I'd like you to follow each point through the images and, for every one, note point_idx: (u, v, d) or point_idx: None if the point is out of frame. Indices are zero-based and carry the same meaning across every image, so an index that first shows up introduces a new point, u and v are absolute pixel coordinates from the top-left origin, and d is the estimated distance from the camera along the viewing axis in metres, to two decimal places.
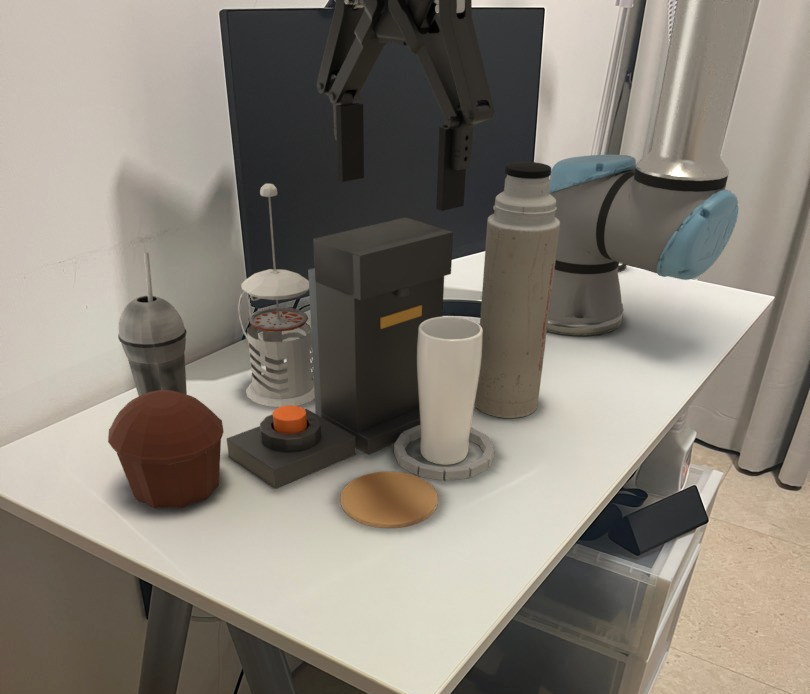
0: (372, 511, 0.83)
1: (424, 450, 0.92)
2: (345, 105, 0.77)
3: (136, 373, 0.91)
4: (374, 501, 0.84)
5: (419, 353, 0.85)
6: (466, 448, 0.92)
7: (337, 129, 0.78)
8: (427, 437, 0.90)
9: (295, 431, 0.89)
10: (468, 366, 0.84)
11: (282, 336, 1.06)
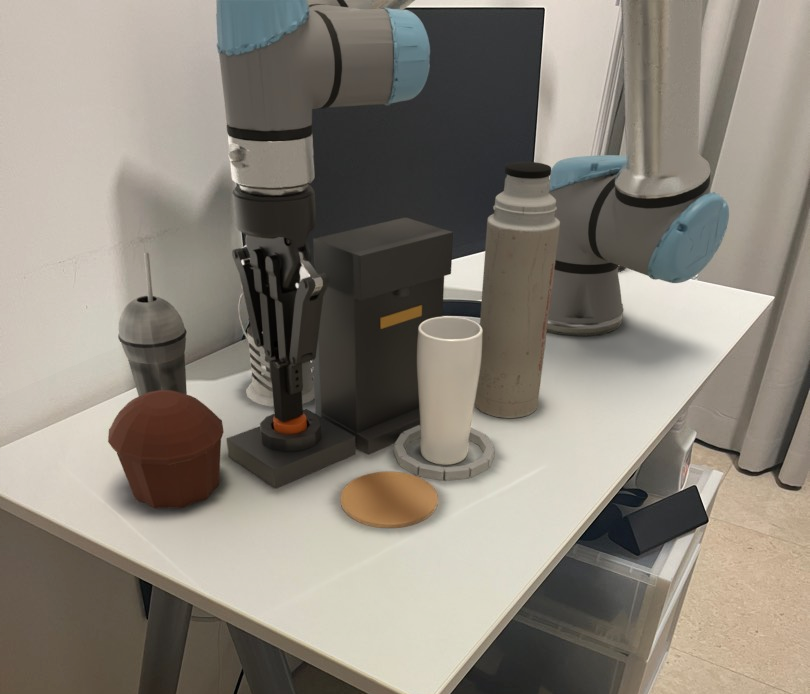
0: (372, 511, 0.83)
1: (424, 450, 0.92)
2: None
3: (136, 373, 0.91)
4: (374, 501, 0.84)
5: (419, 353, 0.85)
6: (466, 448, 0.92)
7: (272, 379, 0.87)
8: (427, 437, 0.90)
9: None
10: (468, 366, 0.84)
11: None
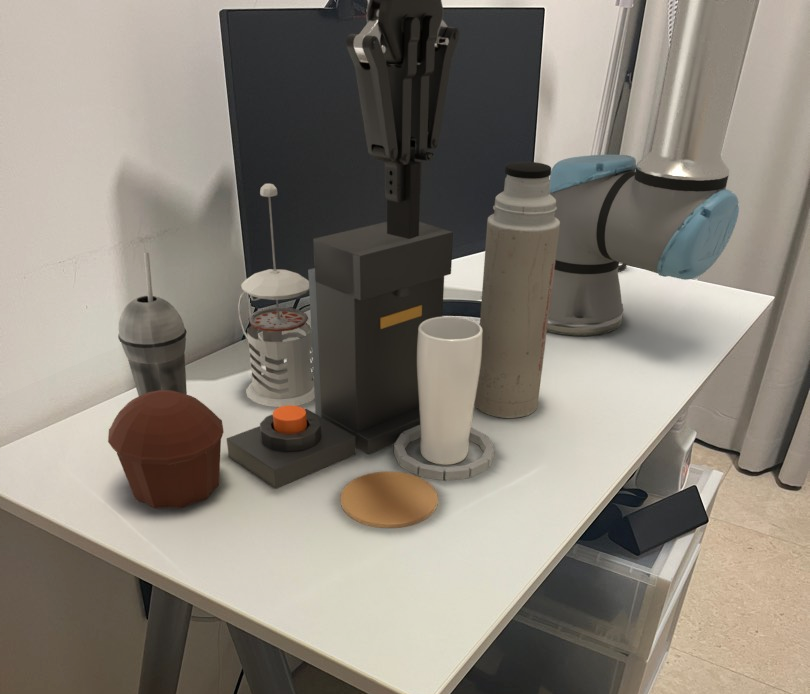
0: (372, 511, 0.83)
1: (424, 450, 0.92)
2: None
3: (136, 373, 0.91)
4: (374, 501, 0.84)
5: (419, 353, 0.85)
6: (466, 448, 0.92)
7: None
8: (427, 437, 0.90)
9: (295, 431, 0.89)
10: (468, 366, 0.84)
11: (282, 336, 1.06)
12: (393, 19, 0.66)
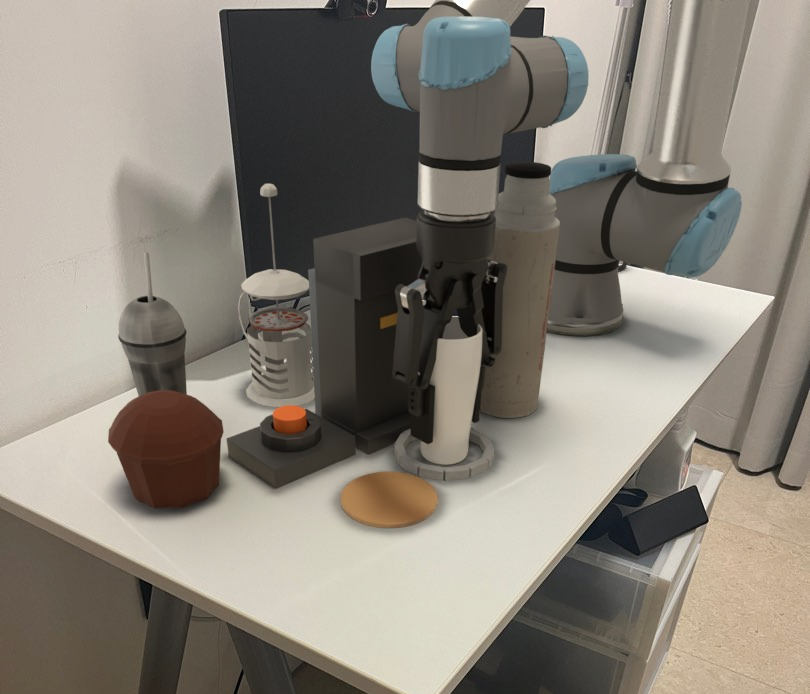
0: (372, 511, 0.83)
1: (424, 450, 0.92)
2: None
3: (136, 373, 0.91)
4: (374, 501, 0.84)
5: None
6: (466, 448, 0.92)
7: None
8: None
9: (295, 431, 0.89)
10: (468, 366, 0.84)
11: (282, 336, 1.06)
12: (439, 283, 0.79)
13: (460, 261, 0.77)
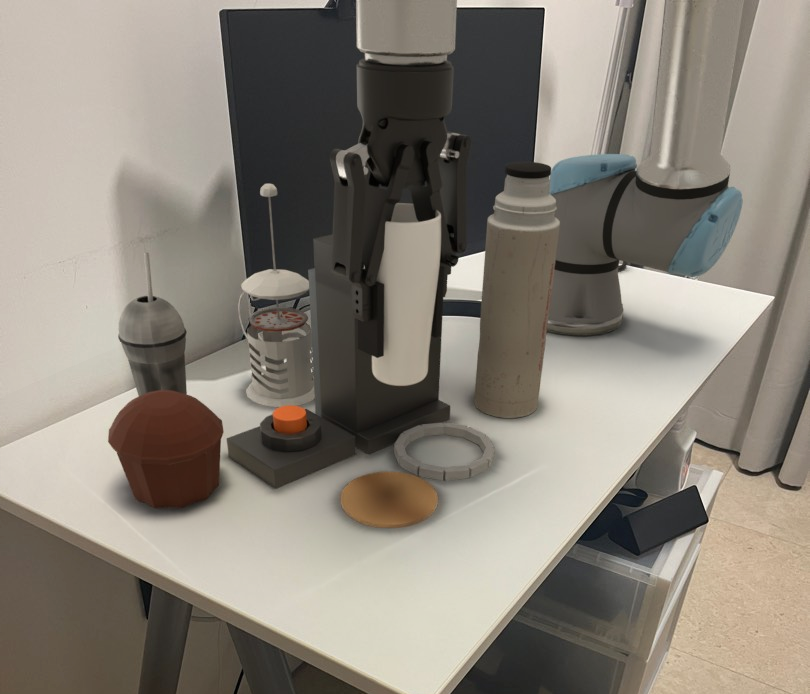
0: (372, 511, 0.83)
1: (375, 369, 0.77)
2: None
3: (136, 373, 0.91)
4: (374, 501, 0.84)
5: None
6: (425, 366, 0.77)
7: None
8: None
9: (295, 431, 0.89)
10: (424, 259, 0.70)
11: (282, 336, 1.06)
12: (384, 148, 0.65)
13: (409, 117, 0.63)
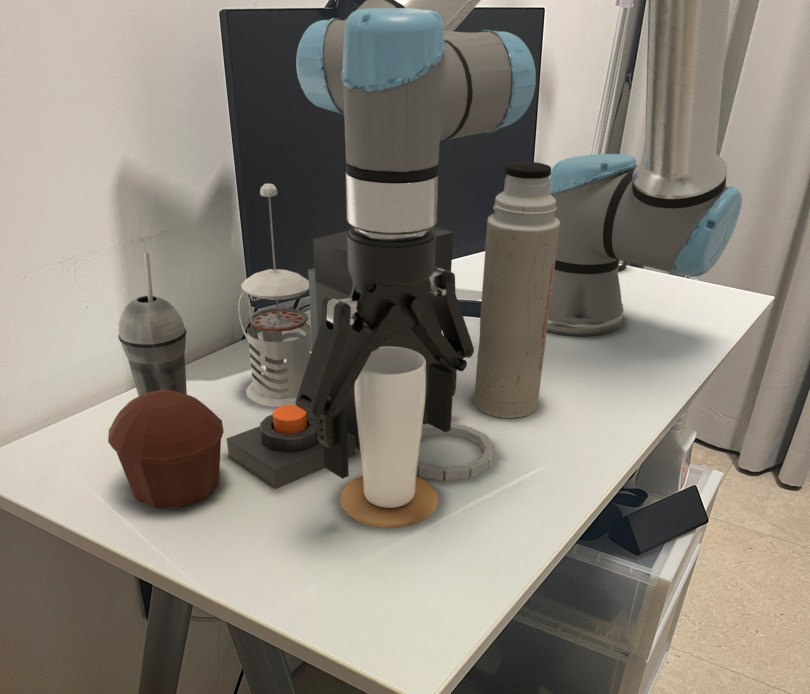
0: (372, 511, 0.83)
1: (366, 492, 0.83)
2: (437, 366, 0.82)
3: (136, 373, 0.91)
4: None
5: (356, 388, 0.77)
6: (412, 490, 0.83)
7: None
8: (369, 478, 0.82)
9: (295, 431, 0.89)
10: (410, 403, 0.76)
11: (282, 336, 1.06)
12: (372, 308, 0.71)
13: (395, 284, 0.69)
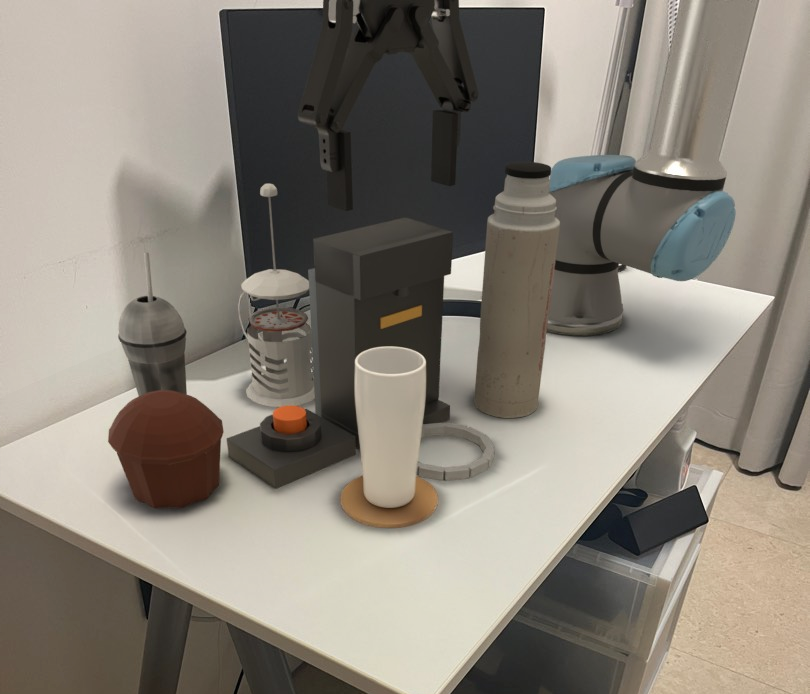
0: (372, 511, 0.83)
1: (366, 492, 0.83)
2: (441, 111, 0.80)
3: (136, 373, 0.91)
4: None
5: (356, 388, 0.77)
6: (412, 490, 0.83)
7: None
8: (369, 478, 0.82)
9: (295, 431, 0.89)
10: (410, 403, 0.76)
11: (282, 336, 1.06)
12: (375, 9, 0.69)
13: None
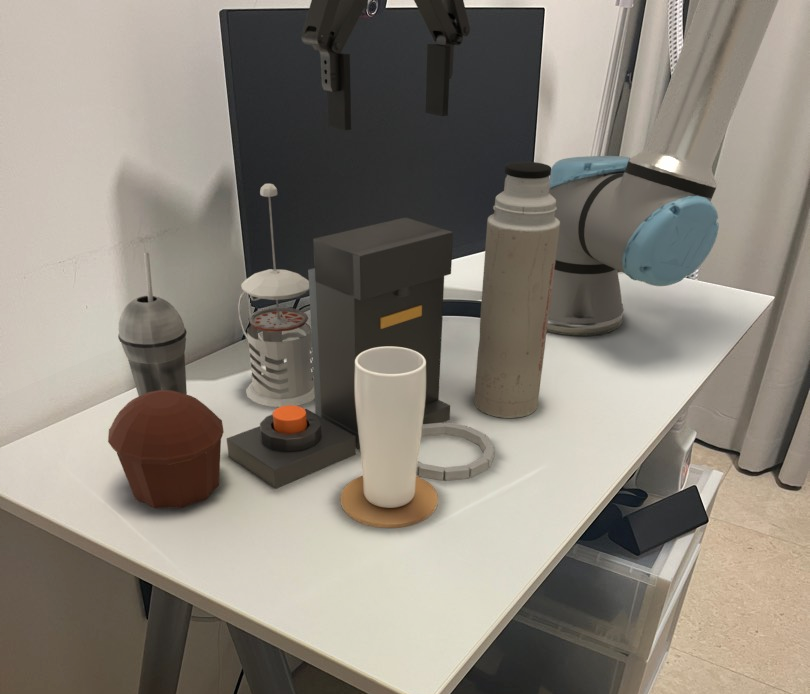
0: (372, 511, 0.83)
1: (366, 492, 0.83)
2: (435, 44, 0.87)
3: (136, 373, 0.91)
4: None
5: (356, 388, 0.77)
6: (412, 490, 0.83)
7: None
8: (369, 478, 0.82)
9: (295, 431, 0.89)
10: (410, 403, 0.76)
11: (282, 336, 1.06)
12: None
13: None
